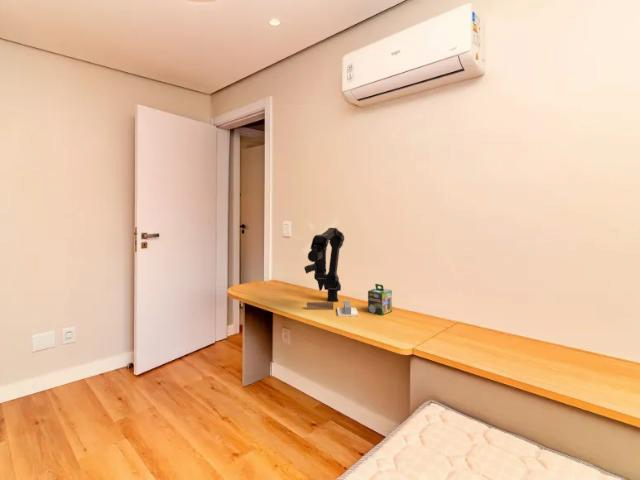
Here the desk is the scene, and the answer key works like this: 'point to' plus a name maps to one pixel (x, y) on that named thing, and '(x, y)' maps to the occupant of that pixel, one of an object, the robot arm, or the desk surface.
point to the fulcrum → (347, 310)
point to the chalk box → (380, 300)
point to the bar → (319, 305)
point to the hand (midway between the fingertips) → (320, 288)
